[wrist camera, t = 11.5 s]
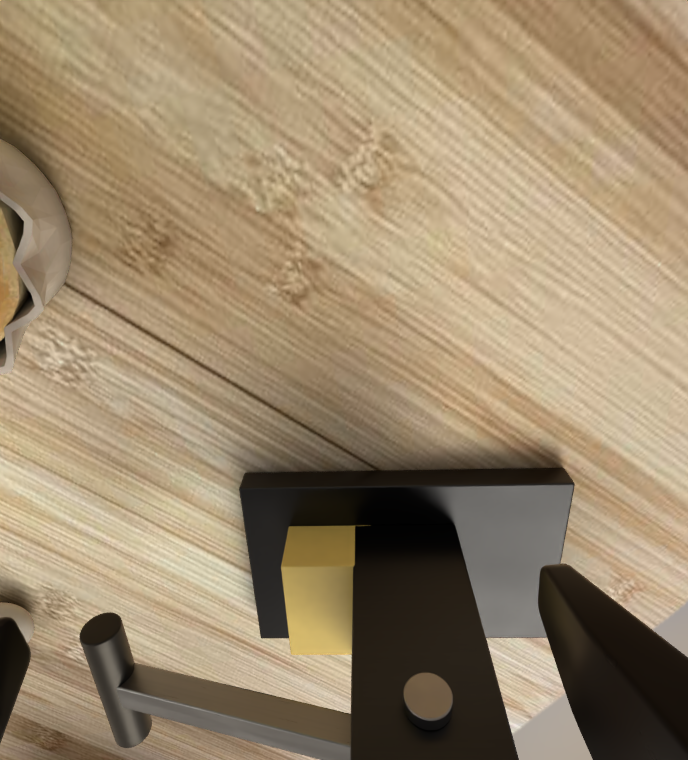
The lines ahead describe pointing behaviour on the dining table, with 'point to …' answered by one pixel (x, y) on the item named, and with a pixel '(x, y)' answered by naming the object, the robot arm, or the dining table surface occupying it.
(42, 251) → the cupcake
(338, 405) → the dining table surface
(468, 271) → the dining table surface
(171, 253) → the dining table surface
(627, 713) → the robot arm
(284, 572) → the butter
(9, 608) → the spoon
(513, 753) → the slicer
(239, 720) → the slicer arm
